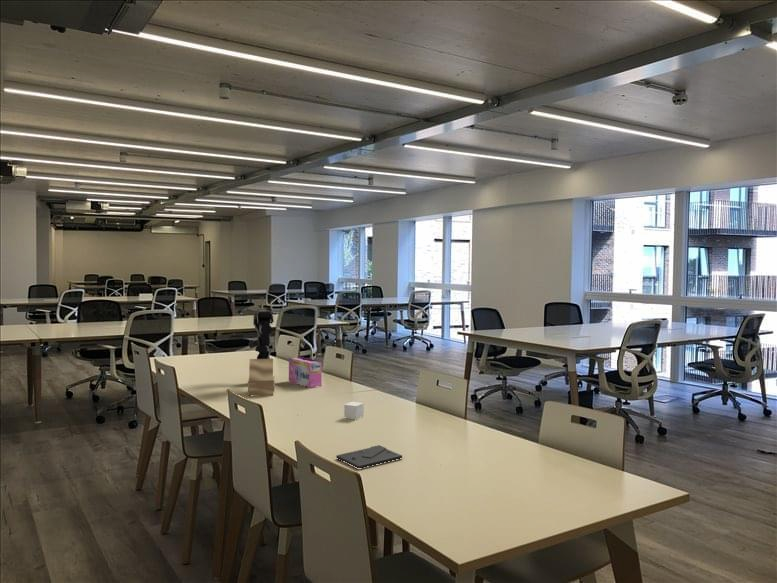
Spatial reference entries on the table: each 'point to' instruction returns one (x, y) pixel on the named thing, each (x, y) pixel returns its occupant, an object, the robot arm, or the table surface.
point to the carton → (261, 387)
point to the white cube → (354, 410)
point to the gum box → (305, 371)
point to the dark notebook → (369, 456)
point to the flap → (261, 370)
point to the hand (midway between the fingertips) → (265, 363)
